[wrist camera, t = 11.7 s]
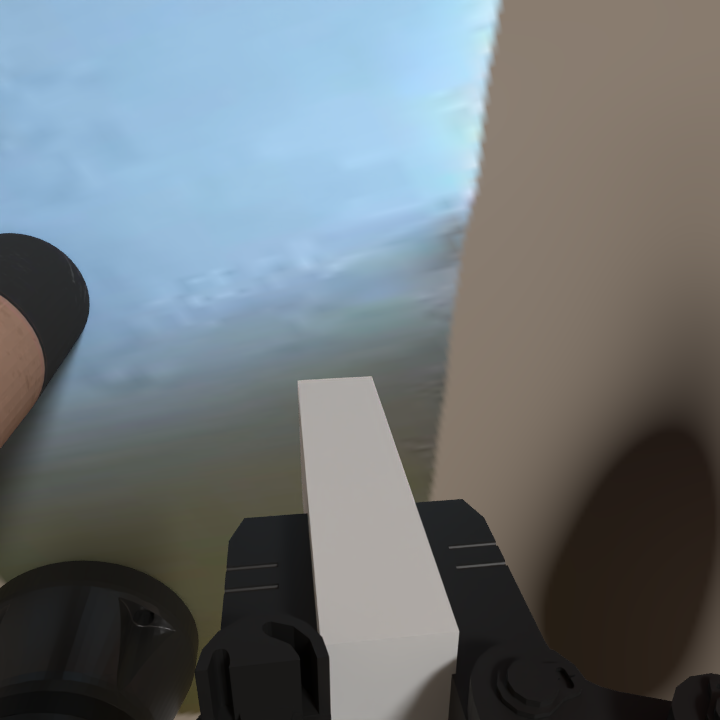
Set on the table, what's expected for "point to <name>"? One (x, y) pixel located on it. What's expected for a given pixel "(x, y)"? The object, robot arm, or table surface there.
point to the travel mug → (34, 321)
